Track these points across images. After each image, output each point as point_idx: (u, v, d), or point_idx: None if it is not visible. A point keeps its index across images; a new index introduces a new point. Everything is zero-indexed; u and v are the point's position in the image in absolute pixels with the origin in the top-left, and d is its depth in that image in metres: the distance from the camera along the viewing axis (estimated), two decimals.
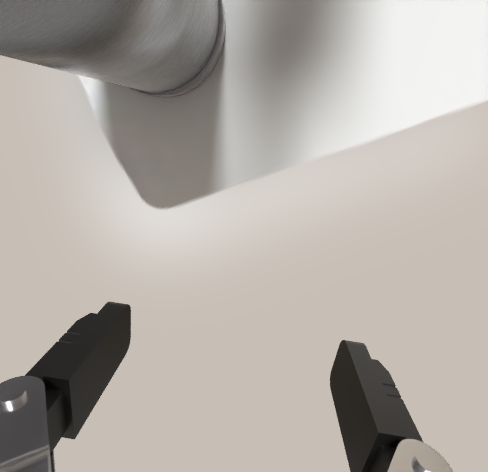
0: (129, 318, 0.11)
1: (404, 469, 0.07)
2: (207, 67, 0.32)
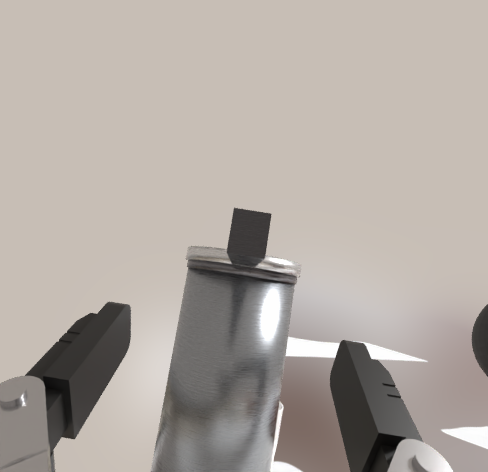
0: (129, 318, 0.11)
1: (404, 469, 0.07)
2: None
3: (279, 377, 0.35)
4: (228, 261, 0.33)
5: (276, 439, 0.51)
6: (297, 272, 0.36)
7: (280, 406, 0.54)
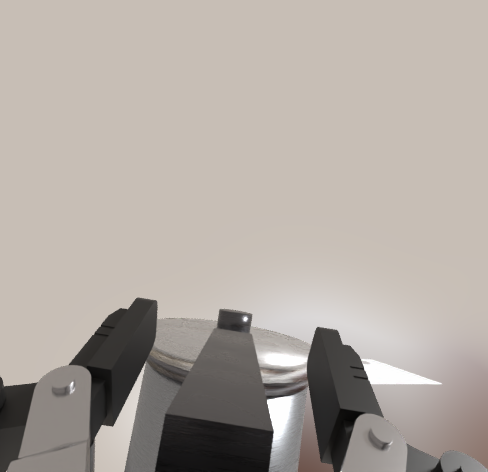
0: (156, 313, 0.12)
1: (362, 443, 0.07)
2: None
3: None
4: None
5: None
6: None
7: None
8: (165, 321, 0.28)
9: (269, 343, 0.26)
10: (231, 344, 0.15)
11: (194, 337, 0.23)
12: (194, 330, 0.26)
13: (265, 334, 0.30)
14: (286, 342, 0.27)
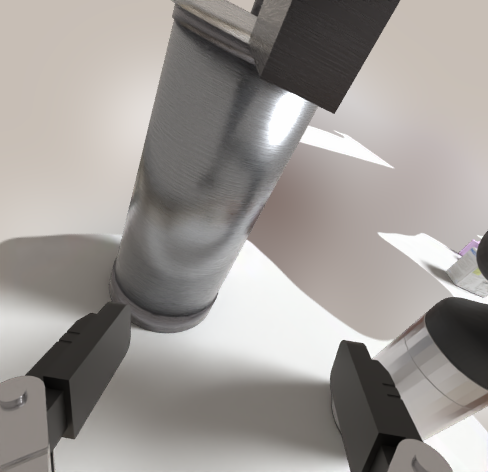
0: (129, 318, 0.11)
1: (404, 469, 0.07)
2: (128, 302, 0.35)
3: (266, 200, 0.31)
4: (243, 37, 0.19)
5: None
6: None
7: None
8: None
9: None
10: None
11: None
12: None
13: None
14: None
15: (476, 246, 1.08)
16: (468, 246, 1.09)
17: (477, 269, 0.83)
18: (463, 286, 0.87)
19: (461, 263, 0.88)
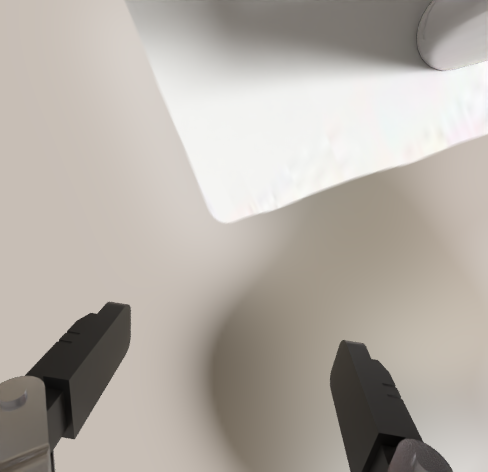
0: (129, 318, 0.11)
1: (404, 469, 0.07)
2: None
3: None
4: None
5: None
6: None
7: None
8: None
9: None
10: None
11: None
12: None
13: None
14: None
15: None
16: None
17: None
18: None
19: None
